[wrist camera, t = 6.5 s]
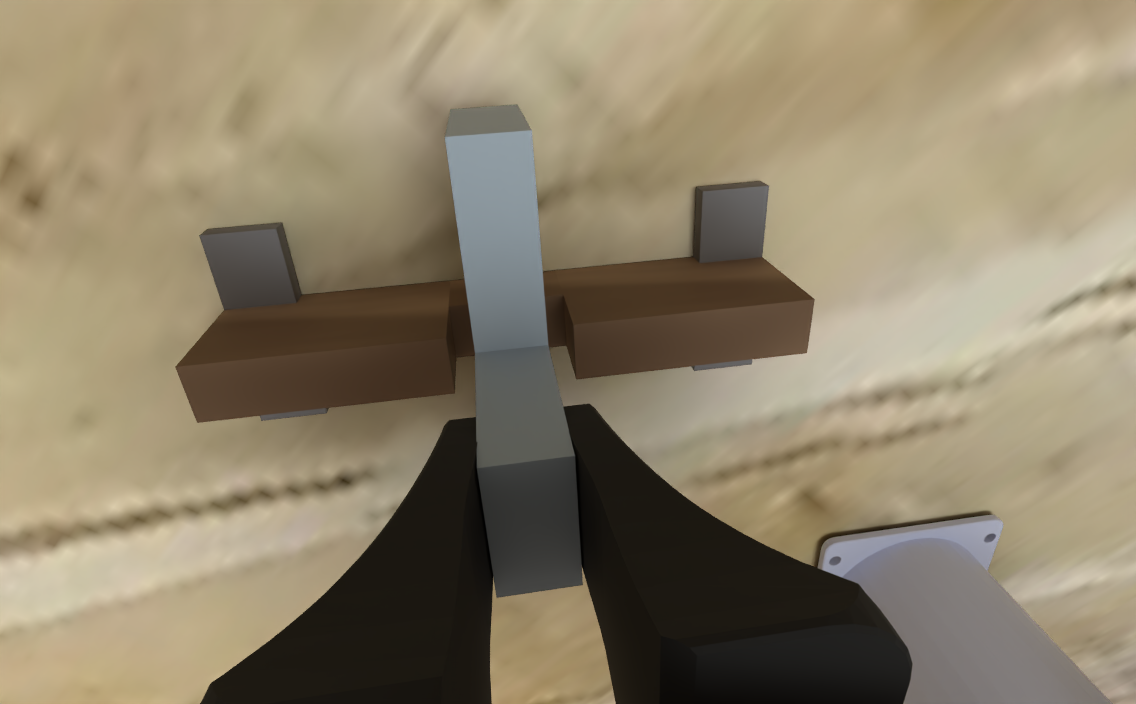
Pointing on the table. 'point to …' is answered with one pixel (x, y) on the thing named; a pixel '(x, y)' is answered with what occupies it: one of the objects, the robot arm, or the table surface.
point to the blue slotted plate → (497, 222)
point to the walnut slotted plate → (443, 328)
